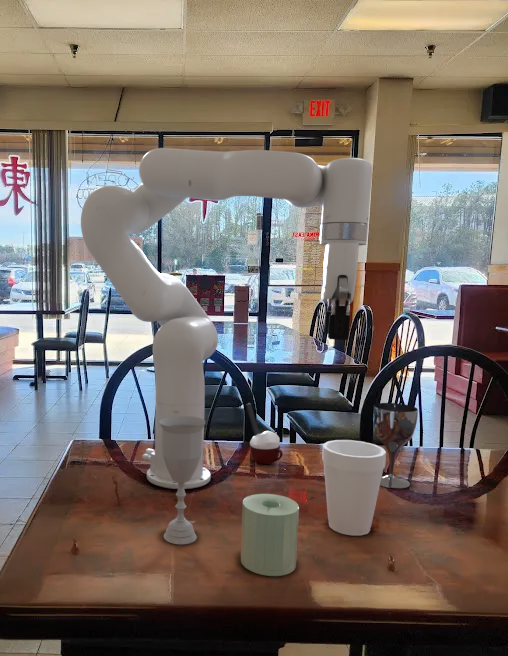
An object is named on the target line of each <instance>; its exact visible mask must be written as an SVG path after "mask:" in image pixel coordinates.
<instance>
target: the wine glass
mask: <svg viewBox="0 0 508 656" xmlns="http://www.w3.org/2000/svg"><path fill="white" fill-rule="evenodd" d="M372 411H373V413H372V414H373V417H372V418H373V419H372V420H373V427H374V431H375V435H376V436H377V438H378V439H379V440H380V442H381V443H382V444H383V446H384V447H385V449H386V450H387V451H386V452H387V454H388V461H389V463H388V465H389V467H388V474H382V478H381V482H380V487H383V488H389V489H390V488H392V489H406V488H408V487H410V486H411V483H410V482H409V481H408V480H407V479H405V478H402V477H399V476H395V475H394V467H395V461H396V456H397V454H398V452H399V451H400V450H401V448H403V447H404V446H405V445H406V444H407V443H408V442H410V440H411V439H412V438H413V437H414V434H415V431H416V428H417V424H418V417H419V415H418V414H419V409H418V408H417V407H415V406H412V405H409V404H404V403H396V402H378V403H375V404H373V410H372Z"/></svg>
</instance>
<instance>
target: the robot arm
mask: <svg viewBox="0 0 508 656" xmlns="http://www.w3.org/2000/svg"><path fill="white" fill-rule="evenodd" d="M372 167H373V166H372V164H371V162H370V161H368V160H367V159H364V158H359V157H345V158H344V157H343V158H337V159H334V160H331V161H330V162H328V163H327V164H326V165H319V164H317V163H316V161H315V160H314V159H313V158H312V157H310V156H309V155H306V154H303V153H300V152H295V151H282V150H268V149H267V150H266V149H244V150H228V151H219V150H218V151H217V150H202V149H201V150H199V149H187V148H173V147H159V148H153V149H151V150H149V151H147V152H146V153H145V154H144V155H143V156H142V158H141V160H140V162H139V166H138V168H139V169H138V174H139V180H140V182H141V183H140V185H138V186H137V187H136V188H134V190H130V189H127V188H125V187H121V186H118V185H102V186H100V187H97V188H95V189H93V190H92V191H91V192H90V194H89V195H88V196H87V198H86V200H85V201H84V203H83V206H82V210H81V214H80V230H81V235H82V238H83V241H84V244H85V245H86V248H87V250H88V251H89V253H90V255H91V257H93V259H94V260H95V262H96V263H97V265H98V266H99V267H100V269H101V270H102V271H103V273H104V274H105V276H106V277H107V279H108V280H109V282H110V283H111V285H112V287H113V288H114V289H115V290H116V292H117V294H118V295H119V296H120V297H121V299H122V300H123V302H124V303H125V305H126V306H127V308H128V309H129V311H130V312H131V313H132V315H133V316H134V317H135V318H136V319H138V320H140V321H142V322H145V323H154V322H157V323H158V325H159V326H160V327H159V328H158V330H157V331H156V333H155V335H154V337H153V341H152V358H153V366H154V379H155V418H154V422H155V423H154V449H152V448H146V449H145V451H144V453H143V454H142V455H141V460H142V461H144V462H148V463H150V467H149V468H148V469H147V471H146V479H147V480H148V482H149V483H151V484H152V485H155V486H158V487H160V488H166V489H171V490H178V482H175V481H173V480H172V478H171V475H170V473H169V471H168V469H167V467H166V464H165V461H164V458H163V455H162V427H161V425H160V423H159V421H160V420H161V419H163V418H166V417H172V416H191V417H197V418H201V419H203V420H205V410H206V409H205V407H206V405H205V404H206V400H205V399H206V398H205V396H206V386H205V384H206V383H205V373H204V364H203V363H204V362H203V361H205V360H207V359H209V358H210V357H211V356H212V355H213V354H214V353H215V352H216V351H217V347H218V345H219V334H218V330H217V327H216V326H215V324H214V323H213V321H212V319H211V318H210V317H209V316H208V314H207V313H206V311H205V309H204V308H203V307H202V306H201V304H200V303H199V302H198V300H197V299H196V297H194V295H193V294H192V292H191V291H190V289H189V288H188V287H187V285H185V283H183V281H181V280H180V279H179V278H177V277H176V276H174V275H172V274H168V273H160V272H159V271H158V270H157V269H156V268H155V267H154V265H153V264H152V263H151V261H150V259H148V258H147V256H146V255H145V253H144V252H143V250H142V249H141V248H140V247H139V246H138V244H137V243H136V242H135V240H133V239H132V238H131V237H130V235H138V234H141V233H144V232H145V231H147V230H149V229H150V228H151V227H153V226H154V225H156V223H158V222H159V221H160V220H161V219H163V218H164V217H166V216H167V215H168V214H170V213H171V212H172V211H173V210H174V209H176V208H177V207H178V206H179V205H181V204H182V203H183V202H184V201H185V200H186V199H187V198H188V199H196V200H197V199H198V200H205V201H206V200H208V201H217V202H221V201H227V200H228V199H231V198H234V197H235V198H236V197H255V198H266V199H276V200H284V201H286V203H288V204H289V205H290V206H292V207H295V208H300V209H301V208H304V209H305V208H311V207H317V206H322V207H321V222H320V233H319V245H323V246H325V249H324V256H323V257H324V258H323V267H322V278H321V294H320V300H321V301H322V302H323V303H327V309H326V310H325V319H324V321H325V322H324V333H325V334H326V335H327V338H328V339H329V340H339V341H347V340H349V335H350V325H351V324H350V323H351V315H350V311H351V309H350V307H351V306H350V304H351V303H352V302H354V299H355V292H356V285H357V274H358V262H359V248H360V246H366V245H367V239H368V227H369V214H370V213H369V212H370V203H371V202H370V201H371V190H372V177H373V168H372ZM204 440H205V426H204V427H203V429H202V453H201V457H200V460H199V463H198V465H197V468H196V470H195V472H194V474H193V476H192V477H191V479H190V481H188V482H185V485H184V490H191V489H197V488H200V487H204V486H206V485H207V484H209V482H211V478H212V477H211V476H212V475H211V472H210V471H209V470H208V469H207V468H205V467H204V446H205V444H204V443H205V442H204Z"/></svg>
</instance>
